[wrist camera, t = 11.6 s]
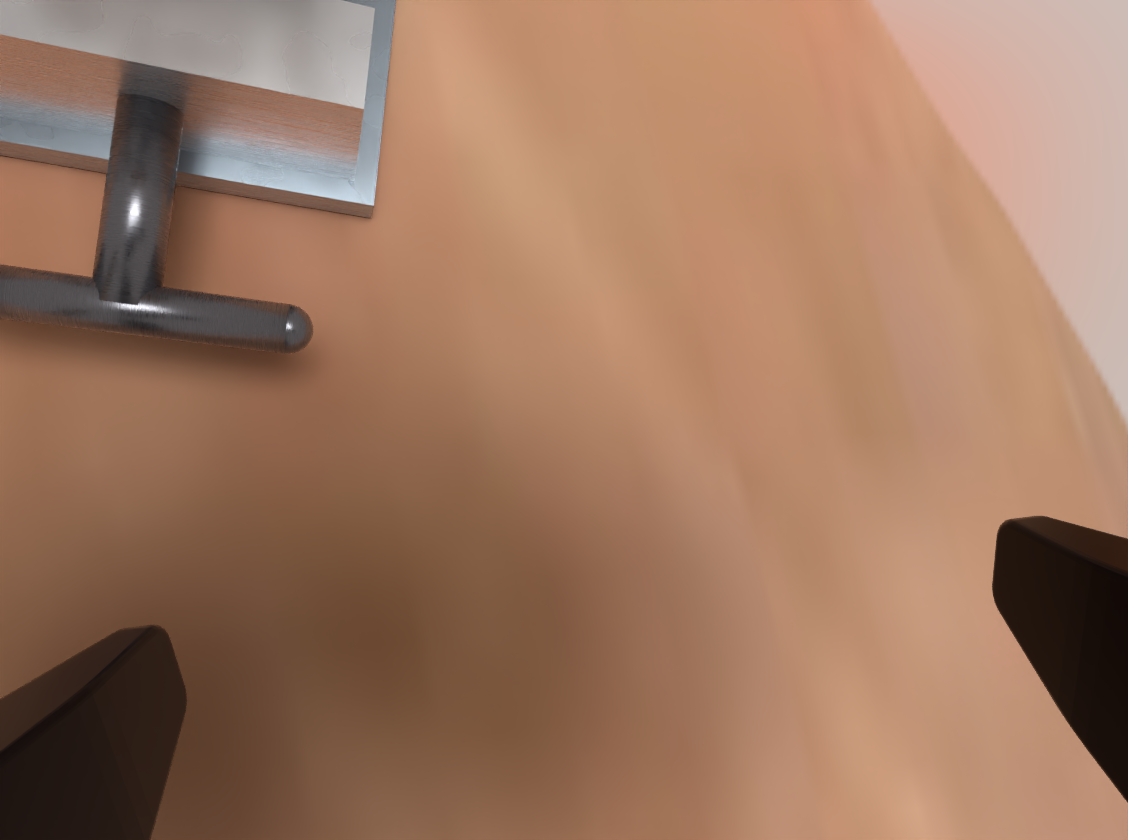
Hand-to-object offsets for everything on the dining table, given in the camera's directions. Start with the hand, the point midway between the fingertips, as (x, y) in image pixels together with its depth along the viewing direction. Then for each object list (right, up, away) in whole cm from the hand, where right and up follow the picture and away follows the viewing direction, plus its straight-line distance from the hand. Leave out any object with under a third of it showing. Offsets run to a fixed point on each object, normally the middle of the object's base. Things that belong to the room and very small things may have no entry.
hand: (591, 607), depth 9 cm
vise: (-9, +10, +11) cm, 17 cm away
